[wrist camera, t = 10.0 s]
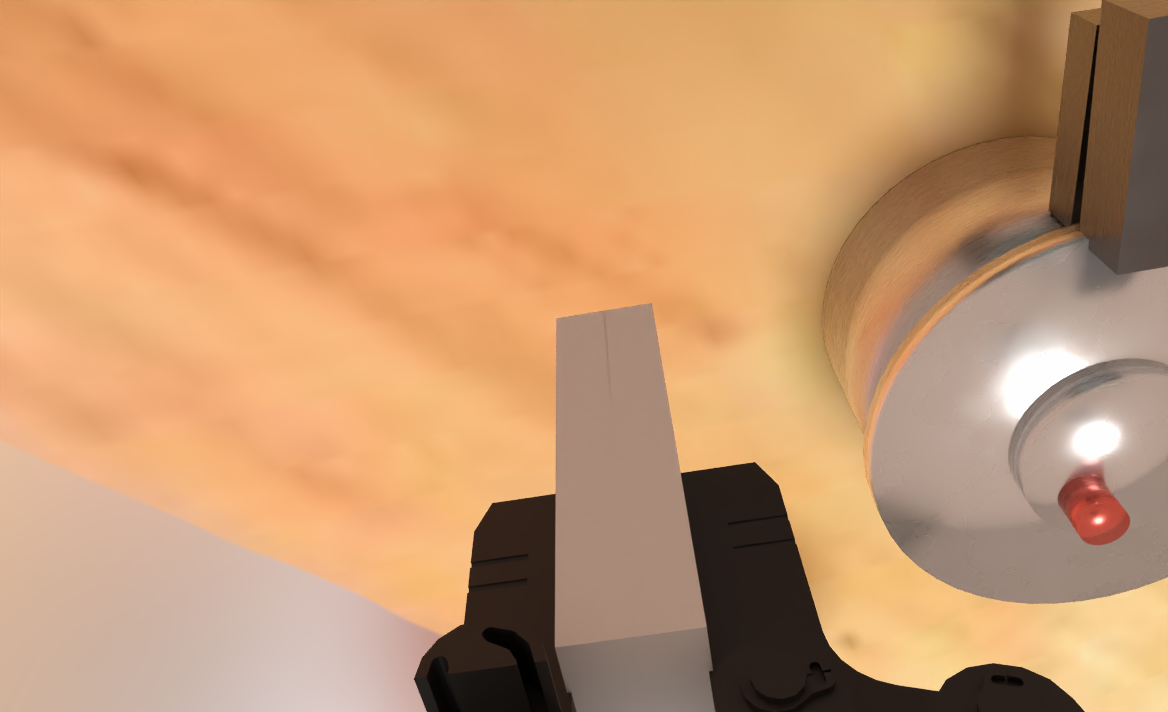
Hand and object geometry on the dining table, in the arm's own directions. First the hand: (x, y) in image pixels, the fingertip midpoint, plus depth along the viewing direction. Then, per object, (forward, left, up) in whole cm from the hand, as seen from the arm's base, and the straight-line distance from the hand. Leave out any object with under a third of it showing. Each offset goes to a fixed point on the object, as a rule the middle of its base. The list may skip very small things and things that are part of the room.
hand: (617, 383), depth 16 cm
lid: (+15, +19, -21) cm, 32 cm away
